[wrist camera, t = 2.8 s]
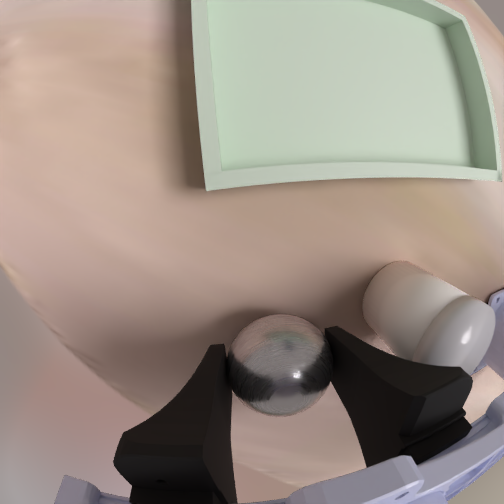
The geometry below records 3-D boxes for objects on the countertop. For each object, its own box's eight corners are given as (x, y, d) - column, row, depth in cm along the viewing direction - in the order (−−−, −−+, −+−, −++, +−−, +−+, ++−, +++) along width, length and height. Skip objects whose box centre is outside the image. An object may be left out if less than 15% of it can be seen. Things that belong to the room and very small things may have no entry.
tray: (445, 25, 9) (464, 16, 7) (477, 178, 12) (502, 181, 10) (194, -12, 8) (190, -37, 6) (210, 188, 11) (206, 190, 9)
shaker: (426, 255, 13) (504, 294, 7) (417, 321, 14) (478, 374, 8) (363, 266, 13) (439, 321, 7) (358, 338, 14) (412, 409, 8)
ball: (315, 290, 13) (354, 341, 8) (315, 364, 14) (342, 423, 10) (219, 303, 13) (216, 364, 8) (233, 377, 14) (236, 443, 9)
